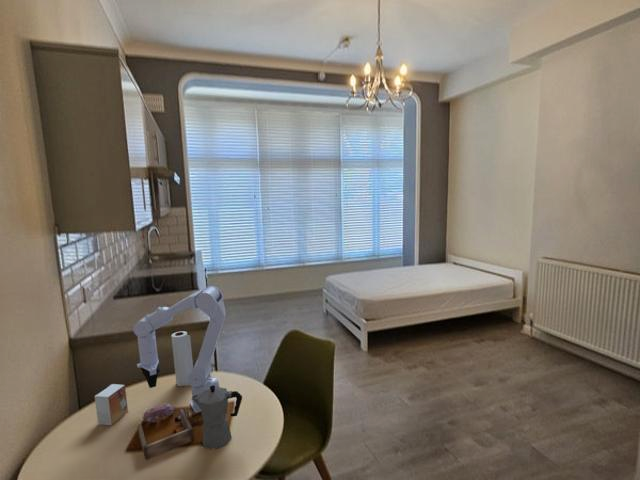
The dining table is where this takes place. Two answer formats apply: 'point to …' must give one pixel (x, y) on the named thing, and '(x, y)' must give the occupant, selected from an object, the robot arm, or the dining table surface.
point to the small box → (111, 404)
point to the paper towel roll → (182, 357)
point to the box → (167, 439)
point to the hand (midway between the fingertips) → (152, 385)
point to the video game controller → (158, 413)
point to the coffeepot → (216, 415)
